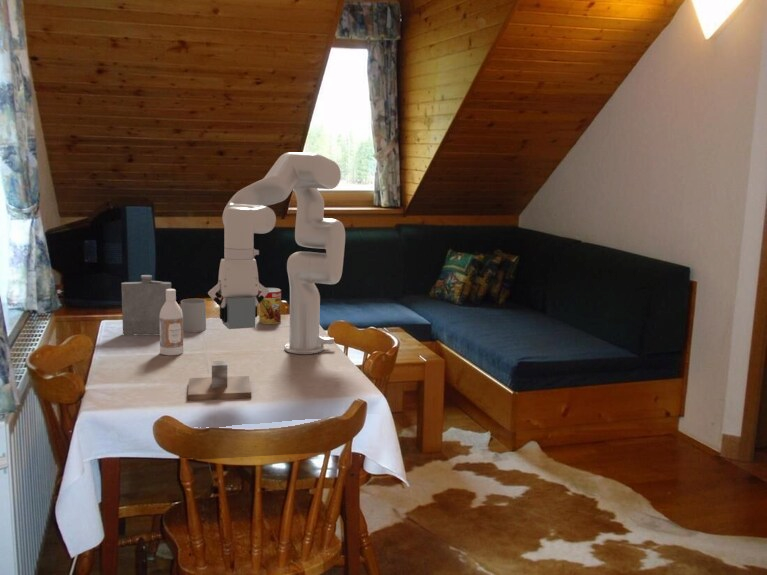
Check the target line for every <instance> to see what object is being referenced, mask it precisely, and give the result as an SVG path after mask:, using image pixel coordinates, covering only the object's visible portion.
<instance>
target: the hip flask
mask: <svg viewBox="0 0 767 575" xmlns="http://www.w3.org/2000/svg"><path fill="white" fill-rule="evenodd" d="M140 279H141V281H130V282H129V281H124V282H121V309H122V310H121V314H122V335H123V334H124V335H123V336H135V335H134V334H160V322H159V316H160V311H161V308H162V307H163V305H164V304H165V302H166V289H172V282H170V281H161V280H160V281H159V280H153V275H151V274H142V275H140Z"/></svg>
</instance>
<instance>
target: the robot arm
mask: <svg viewBox="0 0 767 575" xmlns="http://www.w3.org/2000/svg"><path fill="white" fill-rule="evenodd" d="M341 177H342V173H341V168H340V166H339V165H338V163H337V162H336V161H335V160H332V159H330V158H328V157H326V156H323V155H321V154H318V153H314V152H296V151H295V152H293V151H292V152H291V151H290V152H289V151H288V152H285V153H283V154H281V155H280V156H279V157H278V158H277V160H276V161H275V162H274V164H273V165H272V167H270V169H269V171H268V172H267V173H266V175H265V176H264V177H263V178H262V179H260V180H257V181H255V182H253V183H251V184H249V185H247V186H245V187H243V188H241V189H240V190H238V191H237V192H236V193H235V194H234V195H232V197H231V198H230V199H229V201H228V202H227V203H226V206H225V207H224V210H223V212H222V217H221V218H222V223H223V227H224V231H223V232H224V234H223V235H224V237H223V238H224V242H223V243H224V245H223V246H224V252H223V253H224V258H221V259H220V263H219V270H218V281H217V284H216V285H214V286H213V287H212V288H211V289H209V291H208V292H207V294H208V295H209V298H211V299H212V300H213V302H214V303H216V304H217V305H218V306H219V319H220V320H221V321H222V323H223V322H224V323H226V322H227V308H226V304H227V298H243V297H255V318H257V317H258V307H259V303H260V302H261V301H262V300H263V299H264V297H265V296H266V295H267V294H268V292H269V290H267V289H266V288H267V287H266V286H264V285H262V284H261V283H260V281H259V271H258V265H257V260H256V259H255V257H256V256H259V255H260V250H259V249H255V248H254V242H255V241H254V237H255V236H254V234H261V235H262V234H267V233H270V232H271V231H272V230H273V229H274V228H275V226H276V223H277V217H276V216H277V215H276V213H275V211H274V210H273V209H272V208H270V207H269V206H272V205H275V204H278V203H281V202H284V201H285V200H286V199H288V198H289V196H290V194H291V192H294V195H295V198H296V216H295V217H296V218H295V225H294V226H295V228H294V240H295V243H296V244H297V245H298V246H300V247H303V248H311V249H322V250H323V249H324V250H325V252H313V251H296V252H294V253H292V254H290V255H289V257H288V259H287V260H286V261H287V262H286V272H287V276H288V283H289V336H288V337H289V338H288V340H289V342H287V343H286V344H285V345H283V346H284V351H286V352H288V353H290V354H296V355H297V354H298V355H312V354H313V353H314V354H318V352H319V353H322V352H323V351H324V349H325V345H334V344H335V338H334V337H329V336H328V337H326V336H324V337H322V336H321V334H320V318H321V317H320V313H321V312H320V310H321V308H320V307H321V305H320V304H321V295H320V292H319V289H318V287H317V285H316V284H323V285H336V284H337V283H339V282H340V280H341V278H342V274H343V268H344V258H345V247H346V246H345V245H346V230H345V226H344V224H343V223H342V221H340V220H338V219H335V218H328V217H326V218H325V216H324V215H325V214H324V213H325V200H324V197H323V195H322V194H321V192H320V191H319V189H322V190H333V189H336V187H338V185H339V183H340V181H341ZM259 289H260V290H261V294H260V295H259ZM216 293H218V294H219V295H220V296H221V297H220V298H218V297H217V295H216ZM314 354H313V355H314Z"/></svg>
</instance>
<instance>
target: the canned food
mask: <svg viewBox="0 0 767 575" xmlns="http://www.w3.org/2000/svg"><path fill="white" fill-rule="evenodd" d="M265 288H266V289H267V290H269V292H268V294H267V295H266V296H265V297H264V299H263V300H262V301H261V302H260V303H259V305H258V322H259V323H260V324H261V325H262V324H263V325H276V324H277V323H278V324H280V323H281V319H282V314H281V313H282V311H281V310H282V289H280V288H279V287H278V288H277V287H265ZM260 294H261V290H260V289H259V293H258V295H260ZM278 324H277V325H278Z"/></svg>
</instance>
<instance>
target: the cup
mask: <svg viewBox="0 0 767 575" xmlns="http://www.w3.org/2000/svg"><path fill="white" fill-rule="evenodd" d="M180 308H181V310H182V313H183V332H185V331H188V332H187V333H199V331H200V332H204V331H206V330H207V300H206V299H202V298H186V299H182V300H180Z"/></svg>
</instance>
